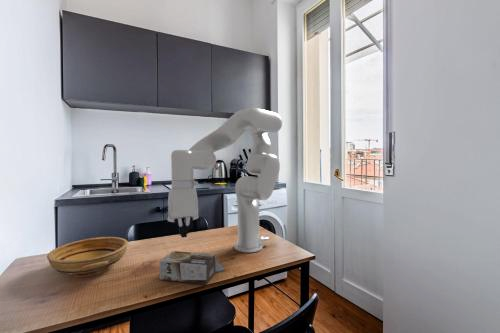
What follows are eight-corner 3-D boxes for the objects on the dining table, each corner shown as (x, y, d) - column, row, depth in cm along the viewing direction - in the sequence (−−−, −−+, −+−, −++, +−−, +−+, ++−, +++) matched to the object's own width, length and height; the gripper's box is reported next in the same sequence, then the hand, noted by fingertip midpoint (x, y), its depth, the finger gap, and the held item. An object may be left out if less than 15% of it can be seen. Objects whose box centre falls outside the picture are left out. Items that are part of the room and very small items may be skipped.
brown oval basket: (48, 264, 93) (47, 243, 93) (119, 249, 108) (119, 231, 108) (46, 300, 70) (45, 272, 69) (138, 274, 85) (137, 251, 84)
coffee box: (159, 280, 80) (206, 285, 77) (158, 260, 80) (206, 264, 77) (173, 267, 89) (216, 271, 86) (172, 250, 89) (216, 253, 86)
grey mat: (213, 256, 100) (213, 255, 100) (224, 270, 88) (224, 269, 88) (167, 264, 93) (167, 263, 93) (171, 281, 80) (171, 280, 80)
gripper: (201, 183, 94) (202, 230, 95) (159, 185, 88) (160, 236, 89) (206, 185, 87) (207, 236, 88) (161, 187, 81) (162, 242, 82)
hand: (183, 236), depth 88 cm, fingers closed
